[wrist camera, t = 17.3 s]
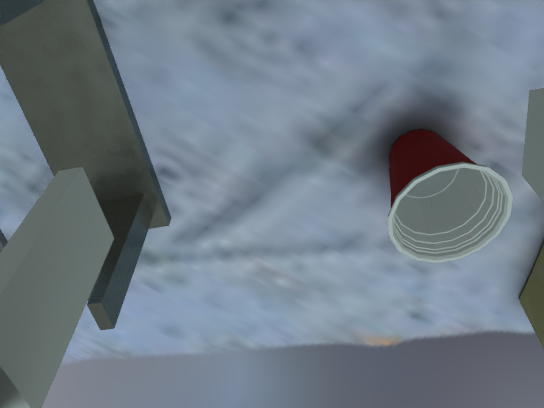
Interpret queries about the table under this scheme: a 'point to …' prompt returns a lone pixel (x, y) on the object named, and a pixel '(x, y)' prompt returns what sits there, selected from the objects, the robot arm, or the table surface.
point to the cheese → (535, 297)
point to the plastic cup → (442, 199)
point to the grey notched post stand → (84, 126)
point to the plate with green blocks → (2, 241)
